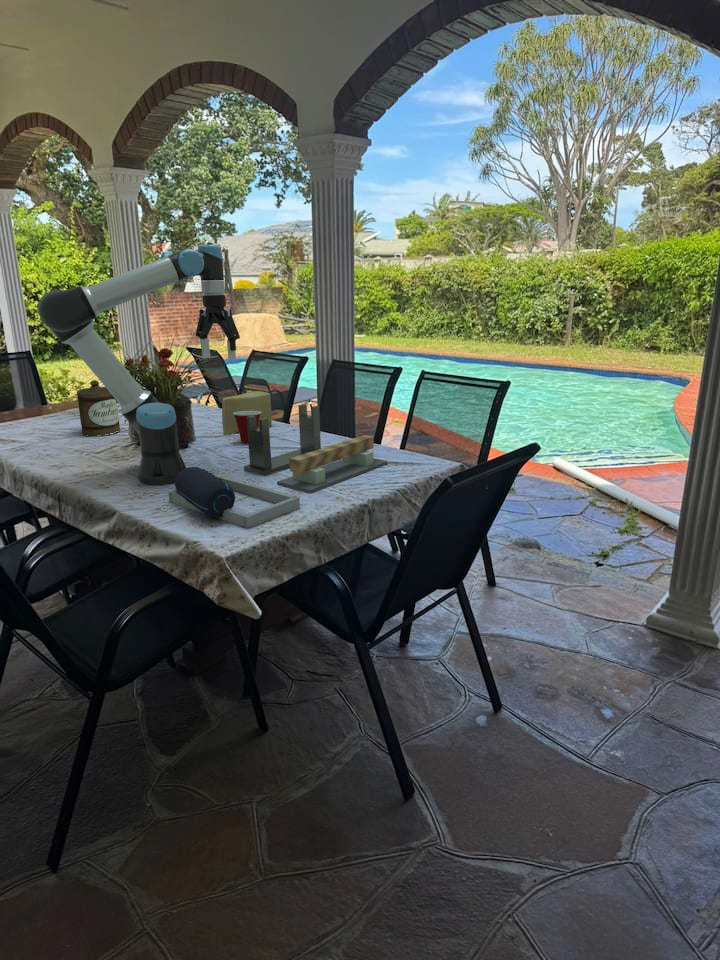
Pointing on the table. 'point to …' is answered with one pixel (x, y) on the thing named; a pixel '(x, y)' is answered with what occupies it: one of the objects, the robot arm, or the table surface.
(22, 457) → the table surface
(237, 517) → the speaker dock
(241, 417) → the plastic cup
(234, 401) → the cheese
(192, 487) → the portable speaker
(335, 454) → the rail
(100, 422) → the wooden container
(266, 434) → the grey notched post stand
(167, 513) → the table surface
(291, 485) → the plate with green blocks
